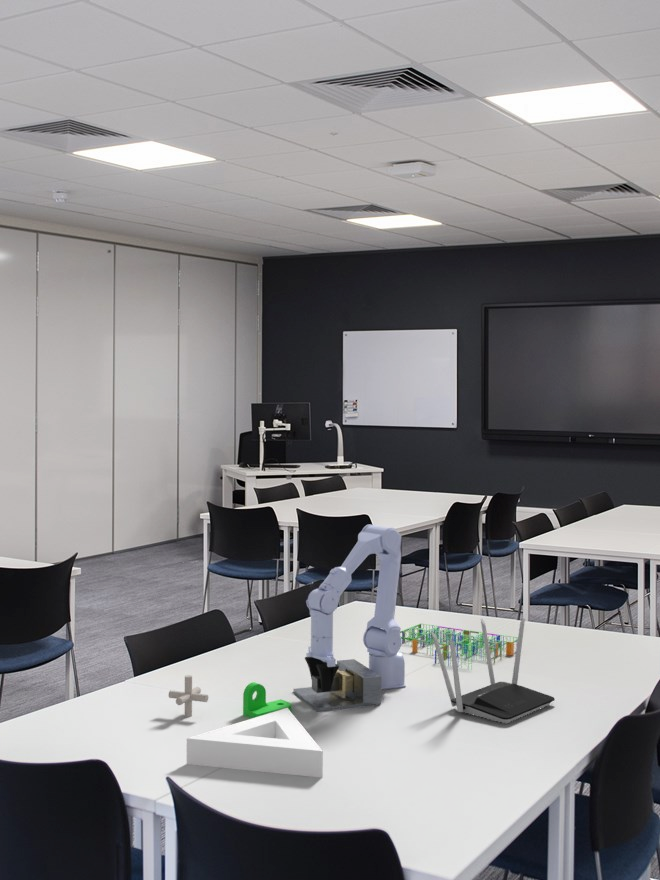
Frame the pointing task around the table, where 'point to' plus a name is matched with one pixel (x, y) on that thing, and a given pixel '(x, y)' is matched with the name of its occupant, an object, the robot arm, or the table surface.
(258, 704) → the mechanical part
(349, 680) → the grey and tan block
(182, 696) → the pipe connector
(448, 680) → the wireless router
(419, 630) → the piping system model
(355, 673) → the block
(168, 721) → the table surface
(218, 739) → the triangle block
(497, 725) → the table surface
